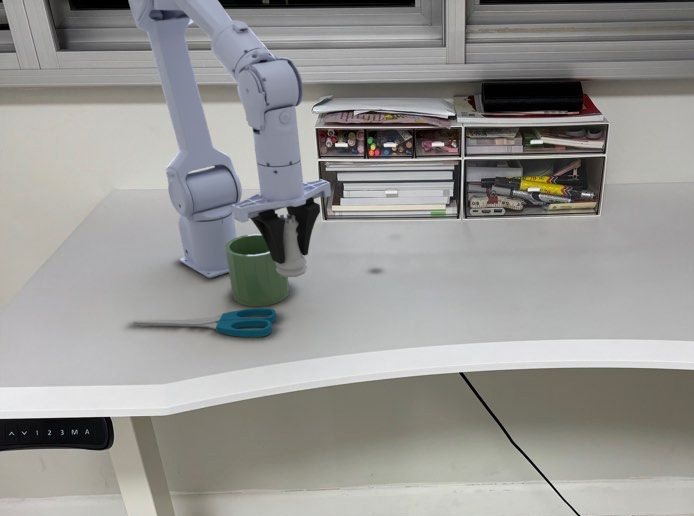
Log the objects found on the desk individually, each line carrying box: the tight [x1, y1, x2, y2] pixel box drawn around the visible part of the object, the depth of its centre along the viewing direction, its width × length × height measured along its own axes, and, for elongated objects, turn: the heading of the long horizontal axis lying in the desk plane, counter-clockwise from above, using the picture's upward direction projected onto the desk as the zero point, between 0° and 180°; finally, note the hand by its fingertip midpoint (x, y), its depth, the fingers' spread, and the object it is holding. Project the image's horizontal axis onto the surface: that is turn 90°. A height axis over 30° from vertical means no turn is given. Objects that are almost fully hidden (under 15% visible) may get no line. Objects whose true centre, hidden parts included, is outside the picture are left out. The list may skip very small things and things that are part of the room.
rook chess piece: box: [276, 213, 308, 278], centre depth 110 cm, size 4×4×8 cm
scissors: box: [133, 307, 278, 338], centre depth 112 cm, size 7×1×20 cm
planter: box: [225, 233, 290, 307], centre depth 119 cm, size 8×8×8 cm
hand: (290, 257), depth 111 cm, fingers closed on rook chess piece, 3 cm apart
